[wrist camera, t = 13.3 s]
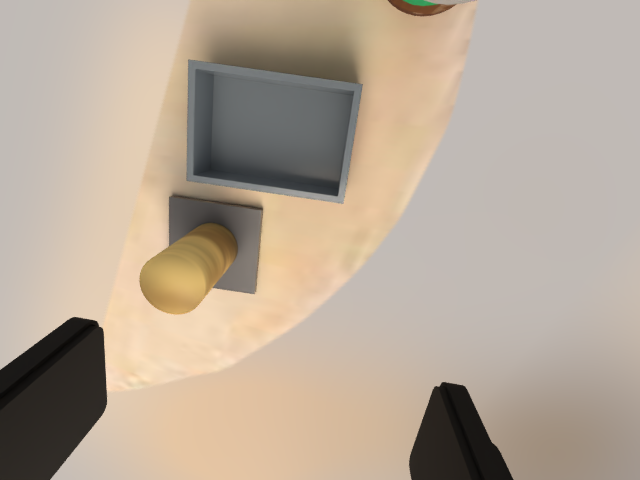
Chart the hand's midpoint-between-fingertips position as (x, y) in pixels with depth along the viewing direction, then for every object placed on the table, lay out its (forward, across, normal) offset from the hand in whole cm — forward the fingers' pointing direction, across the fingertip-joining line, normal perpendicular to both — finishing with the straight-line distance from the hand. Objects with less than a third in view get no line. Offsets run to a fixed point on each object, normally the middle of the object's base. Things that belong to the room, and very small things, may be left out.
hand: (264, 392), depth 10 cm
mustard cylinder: (+28, +11, +8) cm, 31 cm away
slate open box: (+29, +5, -5) cm, 30 cm away
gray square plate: (+29, +11, +8) cm, 32 cm away
